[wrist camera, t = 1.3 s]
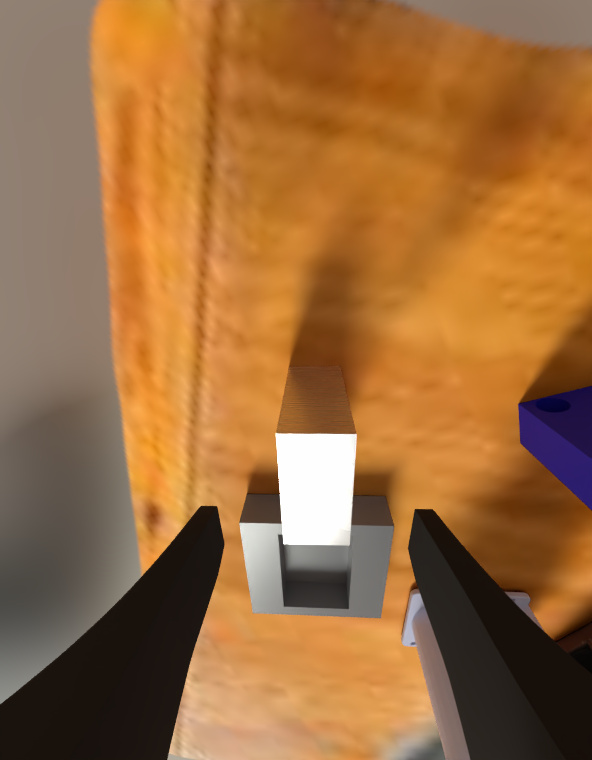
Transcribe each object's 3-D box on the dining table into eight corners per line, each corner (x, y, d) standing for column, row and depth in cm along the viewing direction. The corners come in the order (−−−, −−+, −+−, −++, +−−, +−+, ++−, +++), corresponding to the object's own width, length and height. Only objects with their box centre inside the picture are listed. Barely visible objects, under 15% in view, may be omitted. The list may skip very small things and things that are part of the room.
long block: (340, 365, 17) (356, 434, 11) (337, 449, 20) (349, 545, 13) (289, 366, 17) (276, 434, 11) (292, 449, 20) (283, 544, 14)
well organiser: (385, 496, 21) (394, 526, 19) (374, 584, 25) (380, 618, 23) (246, 494, 22) (239, 522, 19) (258, 580, 26) (253, 613, 23)
